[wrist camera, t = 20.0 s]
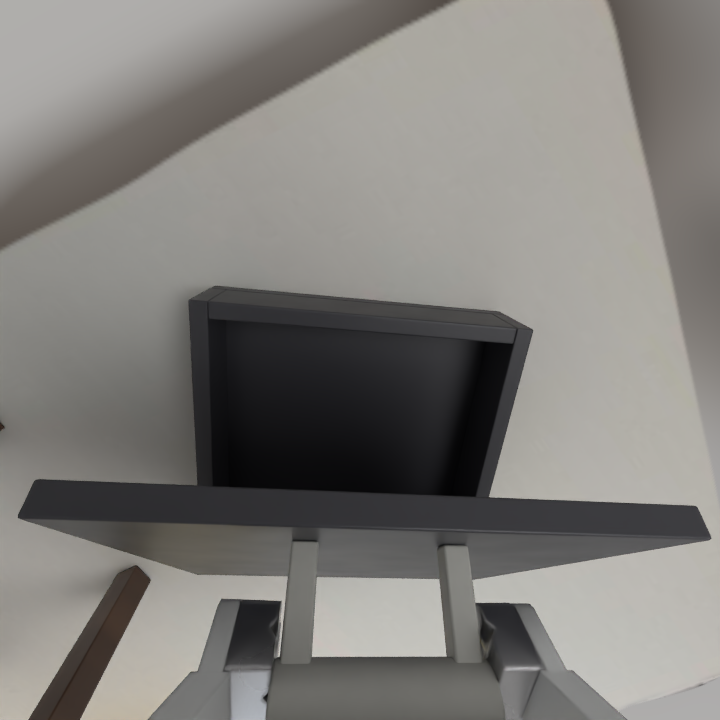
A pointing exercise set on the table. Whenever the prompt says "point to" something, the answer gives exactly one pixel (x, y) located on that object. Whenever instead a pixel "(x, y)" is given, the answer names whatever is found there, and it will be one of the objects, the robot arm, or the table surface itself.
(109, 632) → the shelf legs
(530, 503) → the lid
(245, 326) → the hinged lid box
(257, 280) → the table surface
